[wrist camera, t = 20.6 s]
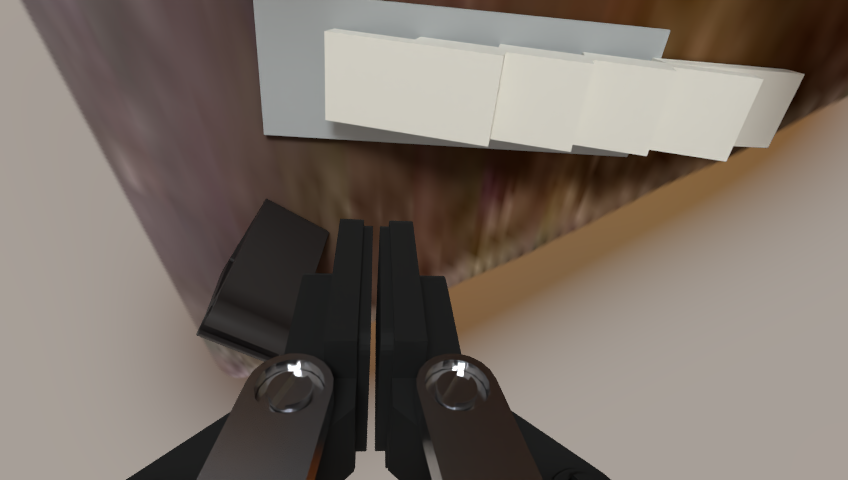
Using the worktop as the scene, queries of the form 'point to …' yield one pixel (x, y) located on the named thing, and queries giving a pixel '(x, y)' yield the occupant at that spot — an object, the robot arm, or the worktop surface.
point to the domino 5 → (759, 100)
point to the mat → (364, 12)
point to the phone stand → (263, 283)
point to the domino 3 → (620, 103)
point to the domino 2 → (537, 97)
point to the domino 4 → (702, 110)
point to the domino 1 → (411, 85)
